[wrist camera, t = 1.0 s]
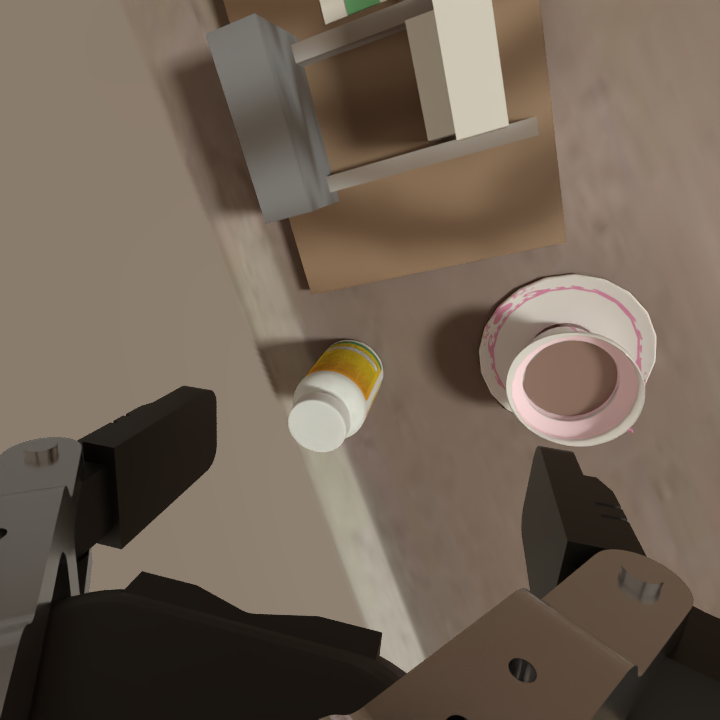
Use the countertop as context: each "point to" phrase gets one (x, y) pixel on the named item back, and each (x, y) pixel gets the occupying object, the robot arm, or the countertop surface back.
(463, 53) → the gauge slider
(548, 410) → the teacup
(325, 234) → the gauge board
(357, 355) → the supplement bottle
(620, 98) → the countertop surface
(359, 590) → the countertop surface
